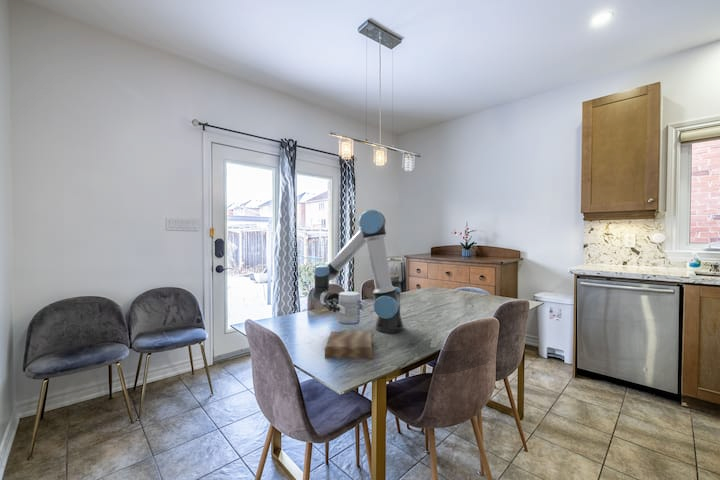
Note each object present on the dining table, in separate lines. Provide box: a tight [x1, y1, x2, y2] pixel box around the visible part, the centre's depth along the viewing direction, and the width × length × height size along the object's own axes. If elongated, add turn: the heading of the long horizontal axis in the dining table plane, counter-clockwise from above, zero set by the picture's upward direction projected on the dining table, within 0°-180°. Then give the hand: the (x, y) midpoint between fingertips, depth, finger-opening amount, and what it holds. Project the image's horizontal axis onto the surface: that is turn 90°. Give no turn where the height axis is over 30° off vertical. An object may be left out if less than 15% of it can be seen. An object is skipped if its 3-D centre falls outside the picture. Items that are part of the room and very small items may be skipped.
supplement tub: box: [338, 291, 361, 329], centre depth 139 cm, size 10×10×15 cm
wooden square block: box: [324, 330, 373, 360], centre depth 139 cm, size 20×20×5 cm
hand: (354, 309), depth 135 cm, fingers closed on supplement tub, 9 cm apart
